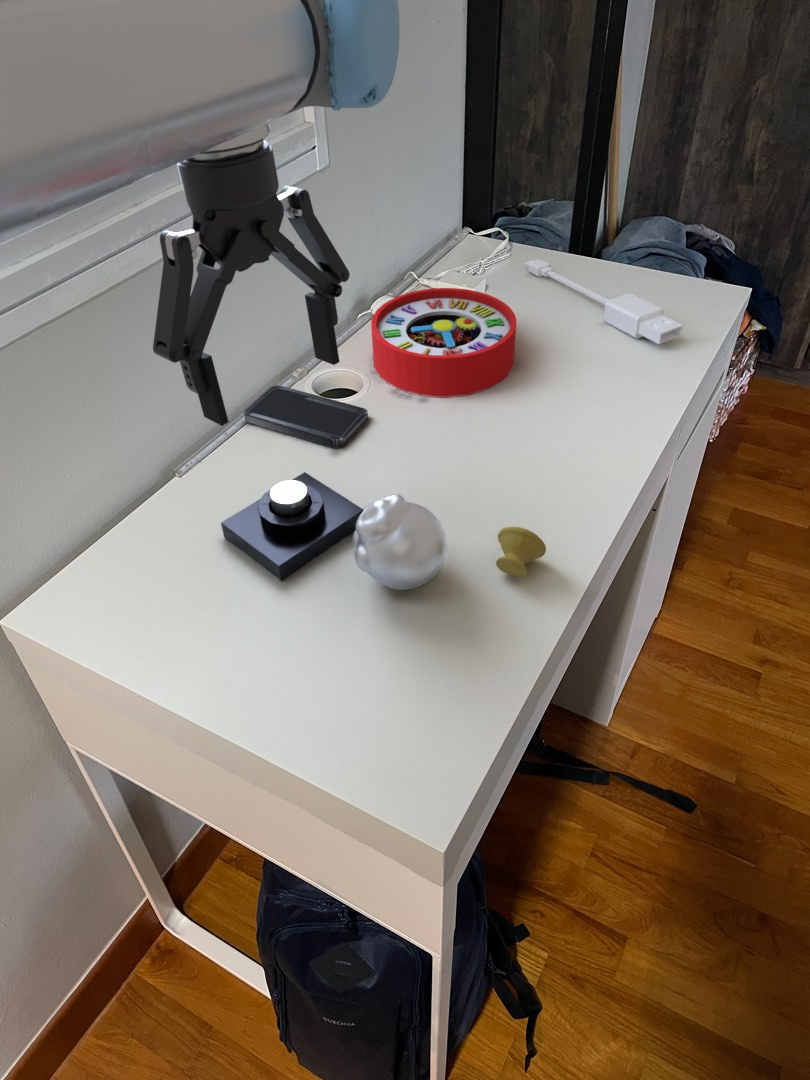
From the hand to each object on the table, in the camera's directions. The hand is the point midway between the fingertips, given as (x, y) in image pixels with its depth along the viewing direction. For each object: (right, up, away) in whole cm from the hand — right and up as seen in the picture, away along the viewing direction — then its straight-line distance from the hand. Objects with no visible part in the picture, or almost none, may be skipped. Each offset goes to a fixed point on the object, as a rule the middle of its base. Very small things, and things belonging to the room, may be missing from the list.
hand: (274, 388), depth 77 cm
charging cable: (+42, +22, +50) cm, 68 cm away
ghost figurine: (+12, -18, +8) cm, 23 cm away
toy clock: (+18, +11, +39) cm, 45 cm away
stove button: (0, -11, +11) cm, 15 cm away
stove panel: (0, -13, +13) cm, 19 cm away
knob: (+24, -17, +8) cm, 31 cm away
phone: (0, +1, +29) cm, 29 cm away
